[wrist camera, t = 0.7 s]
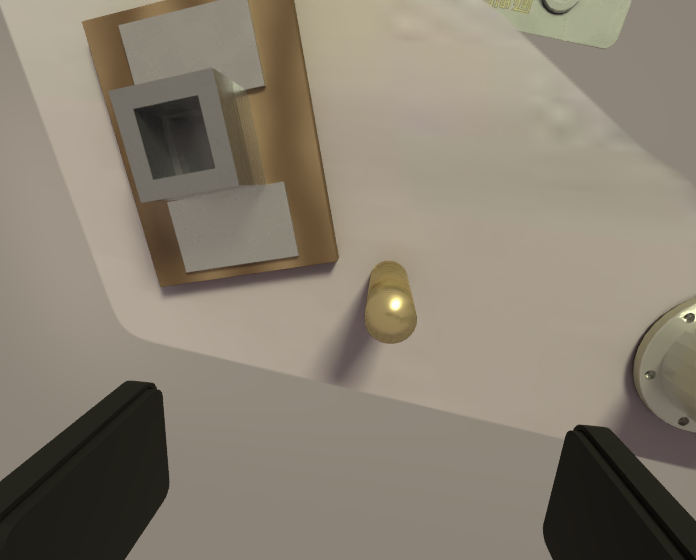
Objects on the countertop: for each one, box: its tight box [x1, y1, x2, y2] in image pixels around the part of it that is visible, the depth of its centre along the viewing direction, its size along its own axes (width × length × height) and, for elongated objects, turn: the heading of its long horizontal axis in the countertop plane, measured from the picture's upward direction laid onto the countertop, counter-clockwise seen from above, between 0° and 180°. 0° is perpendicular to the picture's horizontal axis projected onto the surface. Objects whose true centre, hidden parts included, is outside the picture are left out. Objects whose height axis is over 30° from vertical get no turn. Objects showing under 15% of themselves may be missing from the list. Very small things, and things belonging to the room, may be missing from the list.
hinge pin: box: [365, 261, 417, 344], centre depth 28 cm, size 3×3×10 cm
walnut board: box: [82, 0, 339, 287], centre depth 30 cm, size 16×21×2 cm
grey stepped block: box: [108, 0, 300, 272], centre depth 27 cm, size 10×19×6 cm, turn 9°
